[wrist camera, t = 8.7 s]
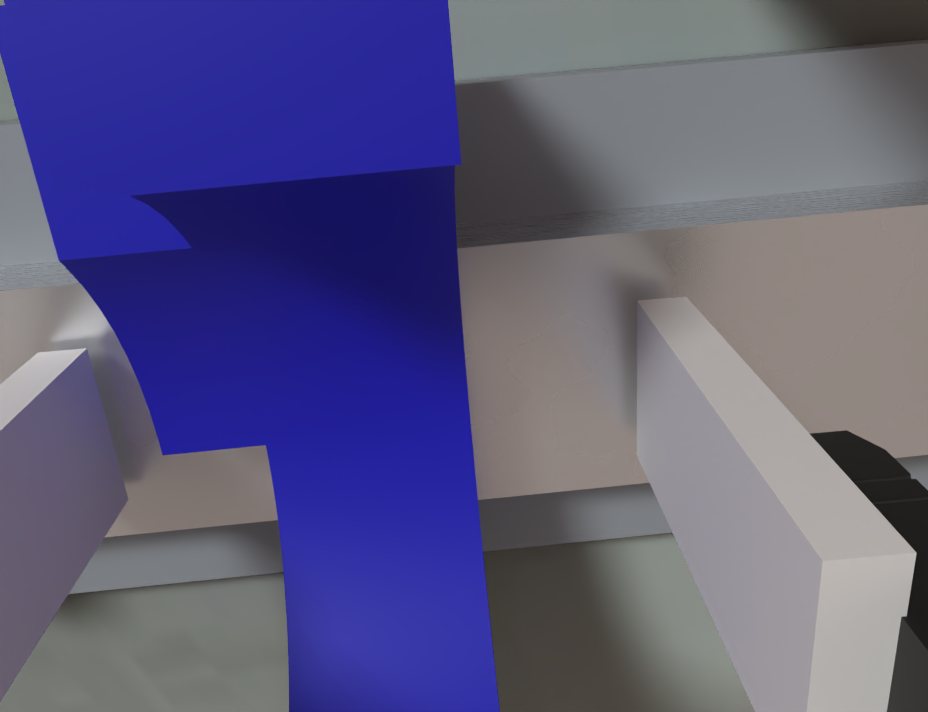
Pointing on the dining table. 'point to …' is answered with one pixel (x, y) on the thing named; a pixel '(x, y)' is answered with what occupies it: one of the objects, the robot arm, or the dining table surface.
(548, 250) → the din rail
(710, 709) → the dining table surface
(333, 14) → the cable clip
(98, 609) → the dining table surface
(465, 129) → the mount plate
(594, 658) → the dining table surface
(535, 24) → the dining table surface
